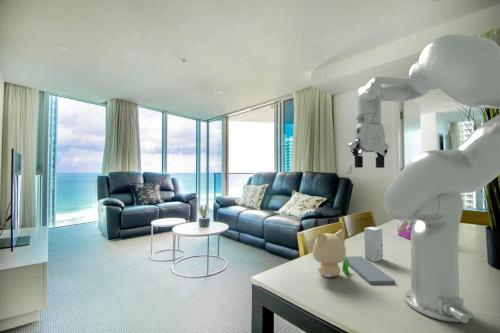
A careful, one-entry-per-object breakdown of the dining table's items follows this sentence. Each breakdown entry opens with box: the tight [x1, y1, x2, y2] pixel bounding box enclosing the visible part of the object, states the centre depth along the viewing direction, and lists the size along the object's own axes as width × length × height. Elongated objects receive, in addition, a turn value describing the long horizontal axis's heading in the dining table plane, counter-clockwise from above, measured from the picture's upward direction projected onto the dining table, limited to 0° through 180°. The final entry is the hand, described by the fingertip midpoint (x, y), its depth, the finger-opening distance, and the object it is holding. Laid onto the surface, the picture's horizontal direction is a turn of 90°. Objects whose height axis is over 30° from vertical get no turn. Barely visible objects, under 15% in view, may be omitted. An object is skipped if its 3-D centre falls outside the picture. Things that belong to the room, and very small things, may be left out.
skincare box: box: [363, 226, 384, 263], centre depth 90 cm, size 6×4×12 cm
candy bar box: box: [397, 219, 415, 241], centre depth 119 cm, size 11×5×16 cm, turn 179°
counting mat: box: [342, 255, 396, 285], centre depth 80 cm, size 20×8×1 cm, turn 2°
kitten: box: [312, 228, 350, 278], centre depth 76 cm, size 15×10×15 cm, turn 109°
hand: (369, 167), depth 82 cm, fingers open, 9 cm apart
